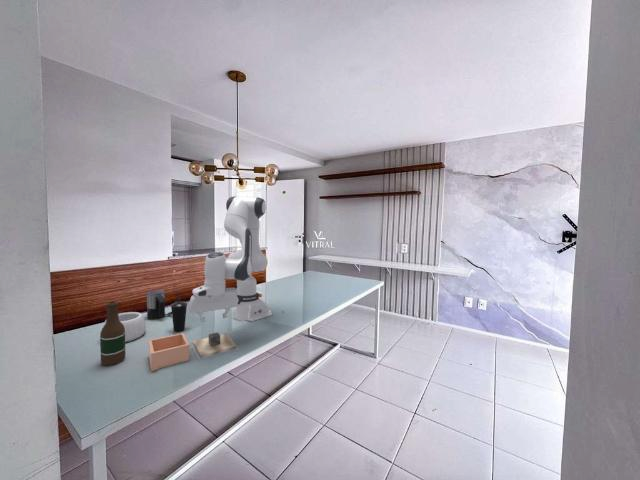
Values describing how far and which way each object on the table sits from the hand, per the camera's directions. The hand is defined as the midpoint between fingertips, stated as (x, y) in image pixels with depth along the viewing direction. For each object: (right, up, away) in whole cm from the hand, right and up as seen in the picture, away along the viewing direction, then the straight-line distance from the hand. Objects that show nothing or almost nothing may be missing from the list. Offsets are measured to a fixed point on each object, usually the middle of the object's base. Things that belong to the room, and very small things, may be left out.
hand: (214, 319), depth 115 cm
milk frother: (-44, -9, +36) cm, 58 cm away
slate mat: (0, -13, +1) cm, 13 cm away
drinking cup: (-25, -11, +17) cm, 33 cm away
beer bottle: (-35, -13, -13) cm, 39 cm away
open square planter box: (-15, -13, -10) cm, 22 cm away
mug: (-45, -11, +6) cm, 47 cm away
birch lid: (0, -13, +1) cm, 13 cm away
